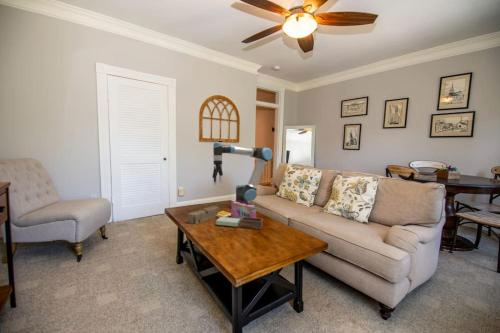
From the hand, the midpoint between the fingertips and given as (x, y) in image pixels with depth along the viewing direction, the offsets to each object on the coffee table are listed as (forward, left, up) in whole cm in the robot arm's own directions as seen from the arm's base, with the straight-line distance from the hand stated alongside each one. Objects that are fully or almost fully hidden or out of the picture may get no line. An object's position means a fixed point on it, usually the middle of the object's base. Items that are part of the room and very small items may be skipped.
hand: (217, 184), depth 199 cm
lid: (+20, +17, -27) cm, 38 cm away
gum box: (+4, +25, -29) cm, 38 cm away
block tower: (+12, -8, -29) cm, 32 cm away
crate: (+20, +36, -28) cm, 50 cm away
